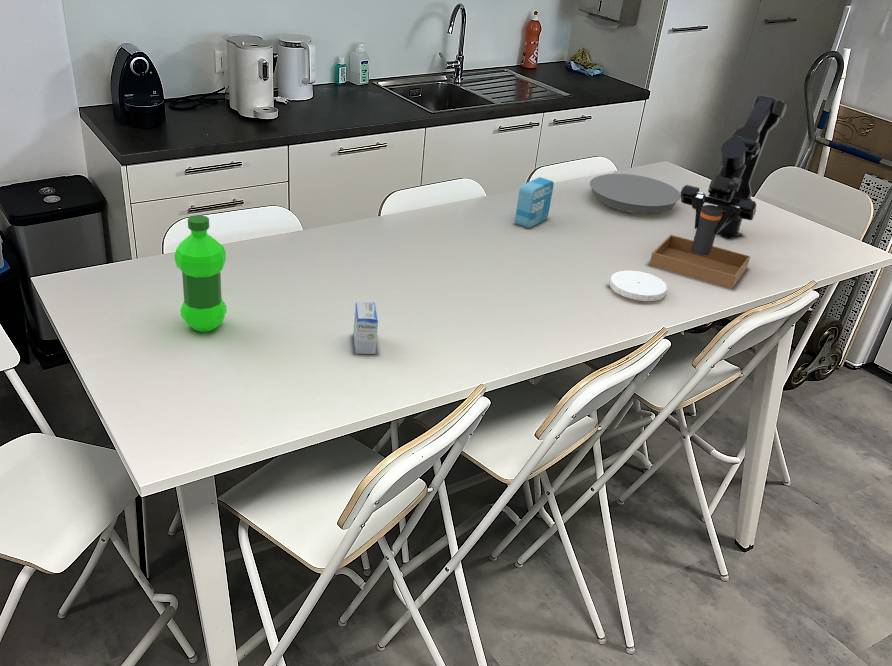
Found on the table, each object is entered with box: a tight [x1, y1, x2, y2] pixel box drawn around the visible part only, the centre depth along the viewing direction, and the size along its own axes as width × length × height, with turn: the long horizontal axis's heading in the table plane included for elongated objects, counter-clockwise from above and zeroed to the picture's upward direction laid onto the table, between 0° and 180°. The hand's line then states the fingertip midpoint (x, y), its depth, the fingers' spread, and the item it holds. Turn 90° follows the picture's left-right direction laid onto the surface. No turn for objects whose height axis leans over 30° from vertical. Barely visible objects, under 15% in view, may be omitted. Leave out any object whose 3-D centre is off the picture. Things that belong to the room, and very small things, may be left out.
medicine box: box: [352, 301, 379, 355], centre depth 182 cm, size 8×4×9 cm, turn 5°
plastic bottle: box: [174, 214, 227, 333], centre depth 181 cm, size 10×10×25 cm
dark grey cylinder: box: [691, 204, 723, 255], centre depth 222 cm, size 5×5×12 cm
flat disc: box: [589, 173, 681, 214], centre depth 268 cm, size 28×28×4 cm
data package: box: [514, 176, 555, 229], centre depth 247 cm, size 12×4×12 cm, turn 141°
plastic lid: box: [608, 269, 668, 302], centre depth 215 cm, size 14×14×2 cm
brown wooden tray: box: [649, 234, 751, 290], centre depth 229 cm, size 16×22×4 cm
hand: (705, 230), depth 221 cm, fingers closed on dark grey cylinder, 5 cm apart
